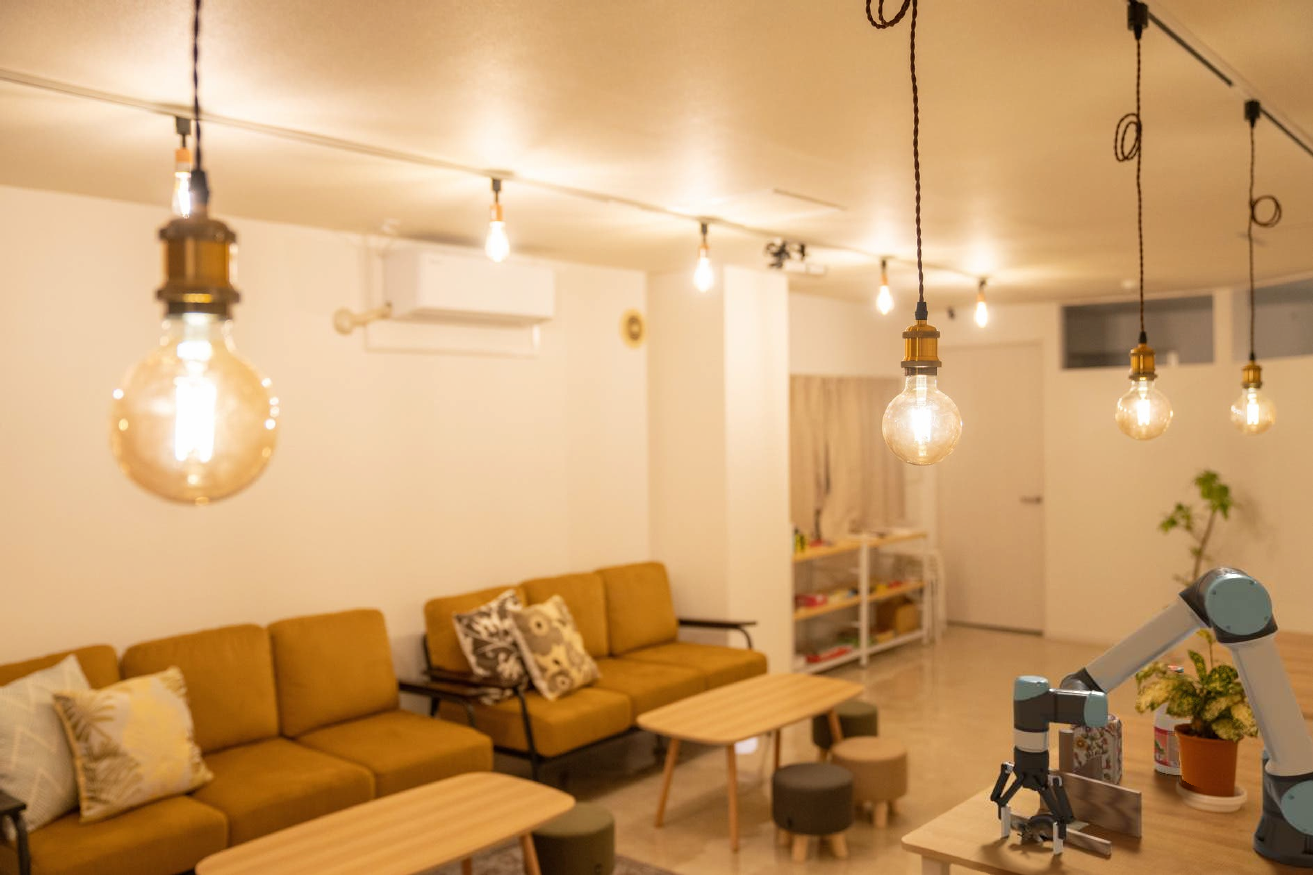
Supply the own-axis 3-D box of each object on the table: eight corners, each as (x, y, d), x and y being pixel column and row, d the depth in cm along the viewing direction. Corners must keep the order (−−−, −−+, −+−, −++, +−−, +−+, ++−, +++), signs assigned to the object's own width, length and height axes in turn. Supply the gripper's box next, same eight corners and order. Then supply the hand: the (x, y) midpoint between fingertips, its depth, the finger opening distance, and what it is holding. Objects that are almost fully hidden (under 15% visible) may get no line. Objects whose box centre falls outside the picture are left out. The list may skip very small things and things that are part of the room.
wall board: (1141, 835, 233) (1141, 791, 233) (1108, 855, 223) (1108, 809, 223) (1043, 806, 251) (1042, 765, 251) (1007, 823, 241) (1007, 780, 241)
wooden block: (1093, 815, 245) (1093, 740, 245) (1054, 802, 254) (1054, 729, 254) (1103, 812, 247) (1102, 738, 247) (1064, 799, 256) (1064, 727, 256)
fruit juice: (1186, 779, 270) (1186, 673, 269) (1148, 771, 276) (1148, 667, 276) (1198, 770, 276) (1198, 667, 276) (1161, 762, 283) (1161, 661, 283)
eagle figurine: (1043, 848, 224) (1068, 831, 229) (1024, 817, 227) (1049, 801, 231) (1020, 856, 230) (1045, 839, 235) (1003, 825, 232) (1028, 810, 237)
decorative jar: (1116, 786, 265) (1116, 717, 265) (1068, 778, 271) (1068, 710, 271) (1123, 773, 275) (1122, 706, 275) (1076, 765, 281) (1076, 700, 281)
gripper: (1092, 756, 222) (1092, 855, 222) (992, 731, 240) (992, 823, 241) (1074, 763, 217) (1075, 865, 217) (974, 737, 235) (974, 831, 236)
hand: (1031, 843), depth 229 cm, fingers open, 12 cm apart
